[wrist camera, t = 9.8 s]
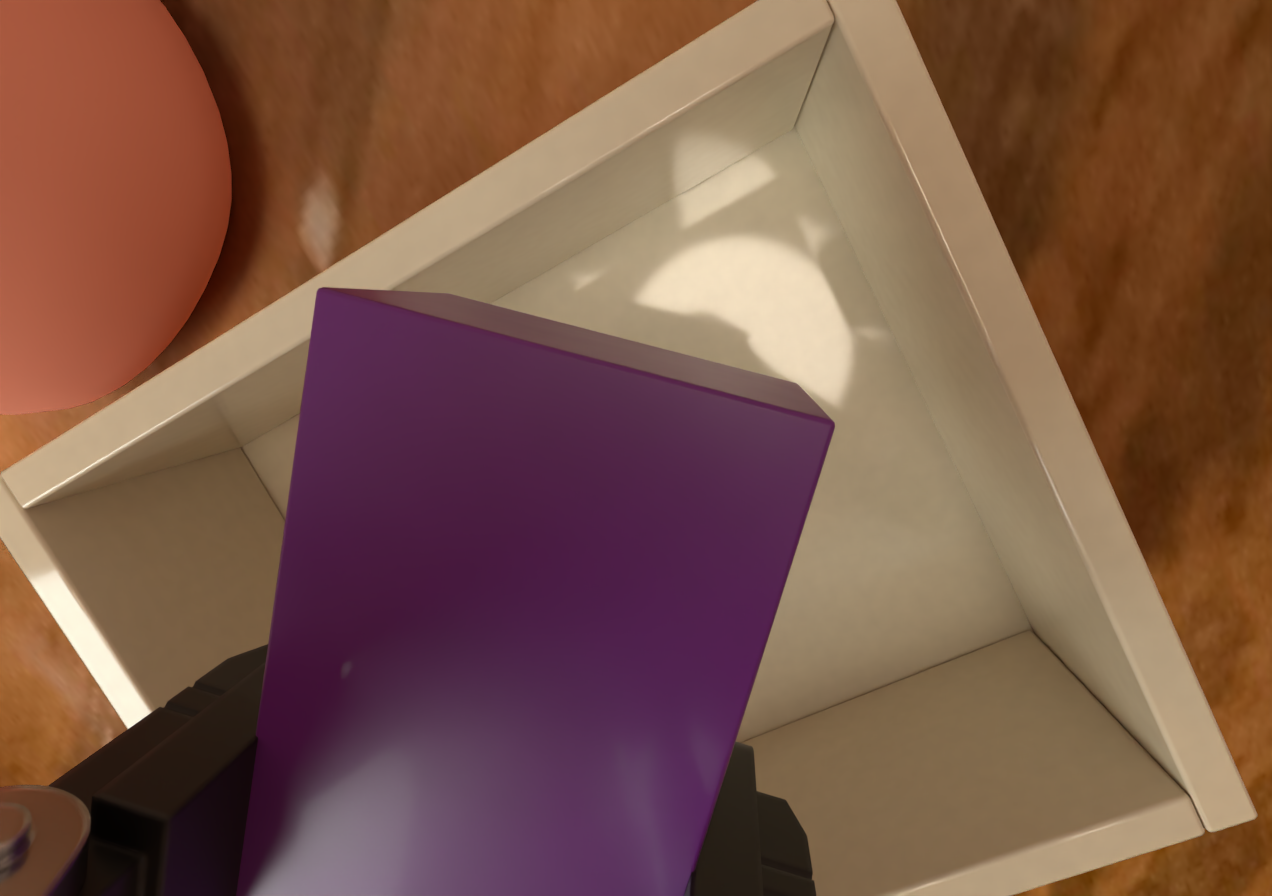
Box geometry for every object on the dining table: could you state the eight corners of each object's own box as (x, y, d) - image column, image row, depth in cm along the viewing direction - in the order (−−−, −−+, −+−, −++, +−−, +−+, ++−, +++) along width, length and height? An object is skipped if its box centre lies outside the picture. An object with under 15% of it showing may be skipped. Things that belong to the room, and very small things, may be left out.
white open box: (808, 86, 16) (867, -71, 9) (1060, 627, 18) (1262, 819, 11) (224, 428, 19) (-34, 492, 13) (482, 852, 21) (371, 1100, 15)
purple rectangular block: (446, 292, 8) (314, 286, 6) (800, 384, 8) (838, 422, 5) (321, 991, 11) (187, 1217, 8) (590, 1081, 11) (544, 1349, 8)
